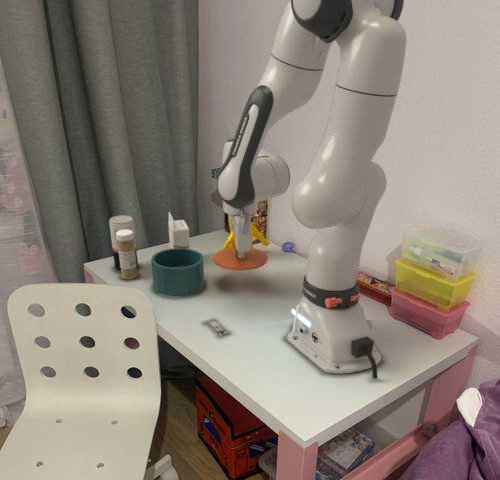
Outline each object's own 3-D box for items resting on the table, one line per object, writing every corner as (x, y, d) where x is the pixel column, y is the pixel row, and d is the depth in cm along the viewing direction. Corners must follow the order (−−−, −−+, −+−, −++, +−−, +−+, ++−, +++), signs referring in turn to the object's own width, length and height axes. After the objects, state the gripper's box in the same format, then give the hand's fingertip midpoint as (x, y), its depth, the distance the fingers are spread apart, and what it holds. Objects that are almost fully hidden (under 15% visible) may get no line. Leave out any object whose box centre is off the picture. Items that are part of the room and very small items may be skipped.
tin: (209, 294, 130) (209, 265, 126) (159, 301, 126) (156, 271, 122) (197, 273, 141) (196, 245, 137) (149, 279, 137) (147, 251, 133)
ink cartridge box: (191, 266, 145) (189, 219, 137) (174, 268, 144) (171, 220, 136) (185, 255, 152) (183, 209, 145) (169, 257, 151) (167, 210, 143)
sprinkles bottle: (133, 272, 141) (128, 227, 134) (140, 277, 138) (136, 232, 131) (118, 276, 138) (112, 231, 132) (125, 281, 135) (120, 236, 128)
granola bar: (206, 324, 117) (205, 321, 117) (214, 322, 119) (214, 318, 118) (220, 337, 113) (220, 334, 112) (228, 334, 114) (228, 331, 113)
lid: (276, 268, 127) (276, 249, 125) (222, 275, 123) (222, 256, 120) (256, 248, 139) (256, 231, 137) (207, 254, 135) (206, 237, 132)
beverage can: (111, 267, 143) (104, 218, 135) (130, 261, 147) (125, 213, 139) (122, 275, 139) (116, 224, 131) (142, 268, 143) (137, 219, 135)
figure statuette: (222, 267, 145) (222, 194, 134) (210, 258, 151) (209, 187, 140) (272, 256, 153) (275, 186, 142) (259, 247, 159) (261, 179, 148)
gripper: (257, 216, 115) (256, 270, 121) (248, 192, 132) (248, 240, 139) (230, 217, 114) (231, 271, 121) (225, 193, 132) (226, 241, 139)
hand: (240, 254), depth 130 cm, fingers closed on lid, 2 cm apart
